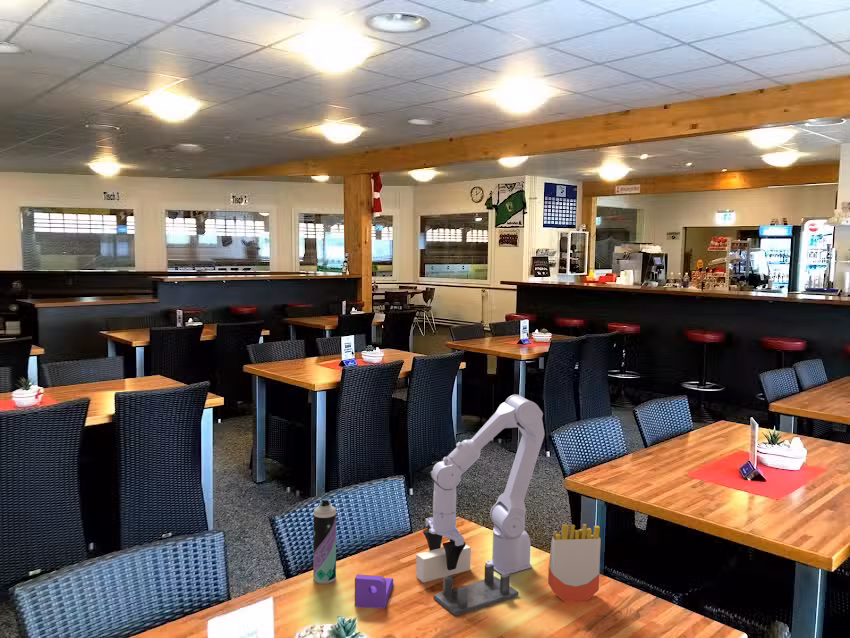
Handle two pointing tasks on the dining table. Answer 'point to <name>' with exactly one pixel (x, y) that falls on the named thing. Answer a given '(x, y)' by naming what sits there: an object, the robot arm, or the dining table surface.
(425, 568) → the block
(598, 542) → the french fries container
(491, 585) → the grey tray
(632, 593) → the dining table surface
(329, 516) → the spray can
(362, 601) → the bracket
